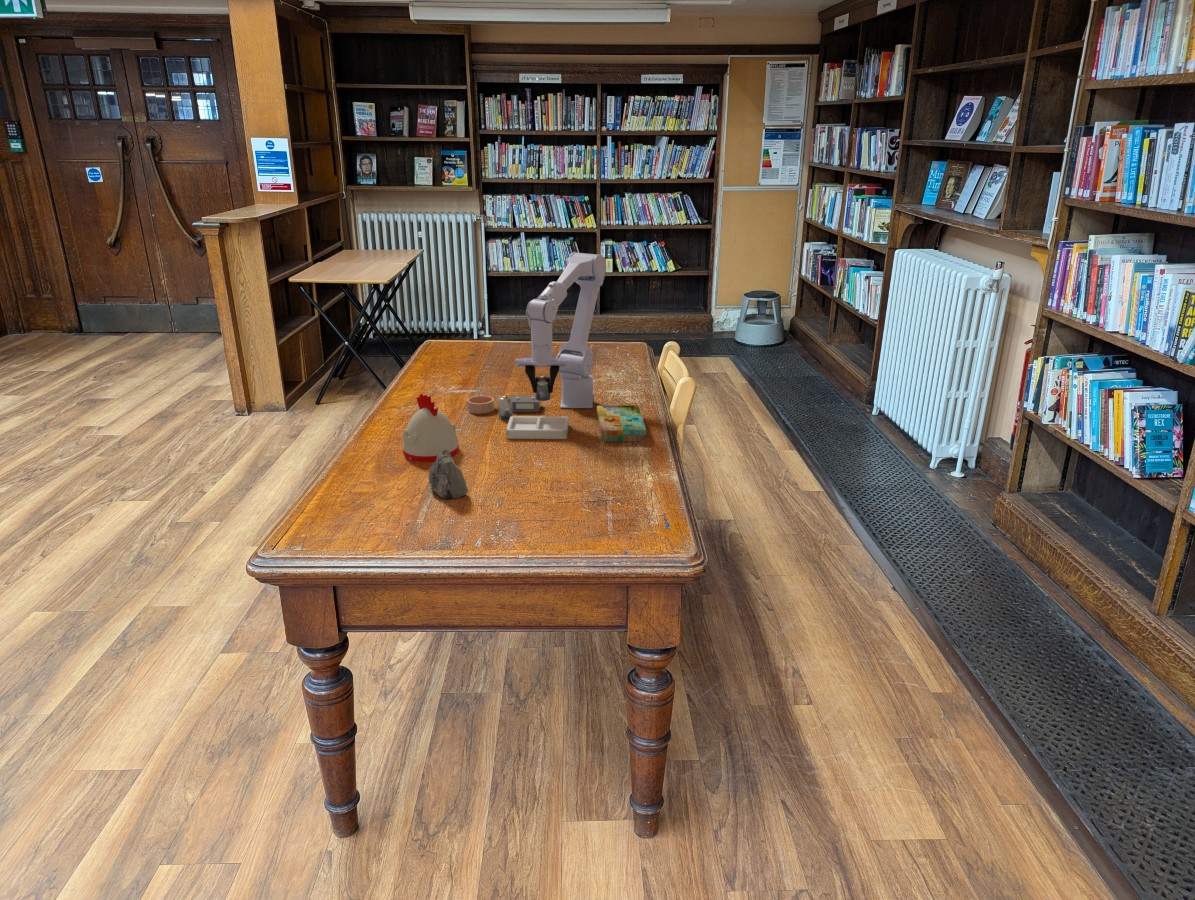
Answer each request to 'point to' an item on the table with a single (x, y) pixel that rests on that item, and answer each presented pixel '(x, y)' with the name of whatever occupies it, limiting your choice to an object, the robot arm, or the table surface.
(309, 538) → the table surface
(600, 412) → the puzzle game
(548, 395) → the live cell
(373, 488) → the table surface
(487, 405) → the pink bowl
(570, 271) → the robot arm
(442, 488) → the mineral rock
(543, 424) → the tray
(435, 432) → the kitchen timer
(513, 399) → the grey box with knobs
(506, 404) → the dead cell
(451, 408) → the table surface
